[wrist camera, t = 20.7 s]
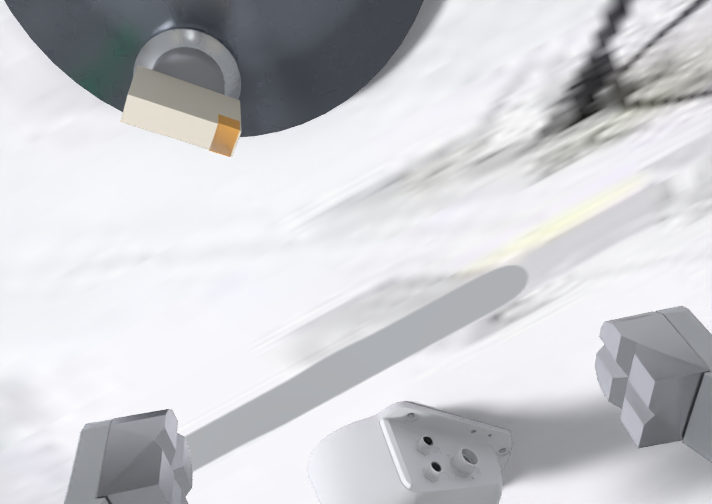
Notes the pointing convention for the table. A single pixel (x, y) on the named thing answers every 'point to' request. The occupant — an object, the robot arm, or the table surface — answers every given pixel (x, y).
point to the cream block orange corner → (185, 101)
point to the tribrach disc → (227, 47)
